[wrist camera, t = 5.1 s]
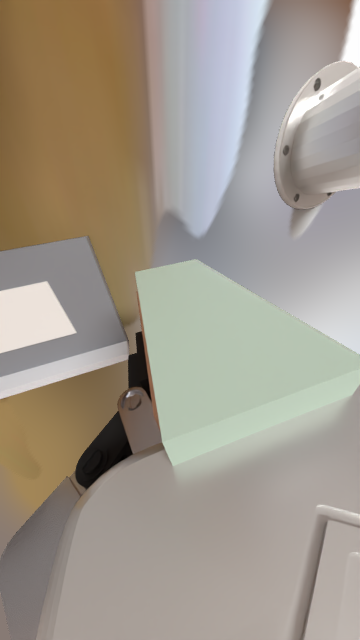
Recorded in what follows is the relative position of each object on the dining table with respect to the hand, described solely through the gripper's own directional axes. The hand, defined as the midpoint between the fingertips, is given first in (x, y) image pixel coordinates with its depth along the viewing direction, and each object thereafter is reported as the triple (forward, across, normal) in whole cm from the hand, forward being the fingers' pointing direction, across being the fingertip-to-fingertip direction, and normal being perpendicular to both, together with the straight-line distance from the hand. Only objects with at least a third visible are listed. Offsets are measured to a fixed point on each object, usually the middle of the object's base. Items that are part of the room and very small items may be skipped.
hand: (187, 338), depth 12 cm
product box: (+5, 0, 0) cm, 5 cm away
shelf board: (+14, +16, +1) cm, 21 cm away
